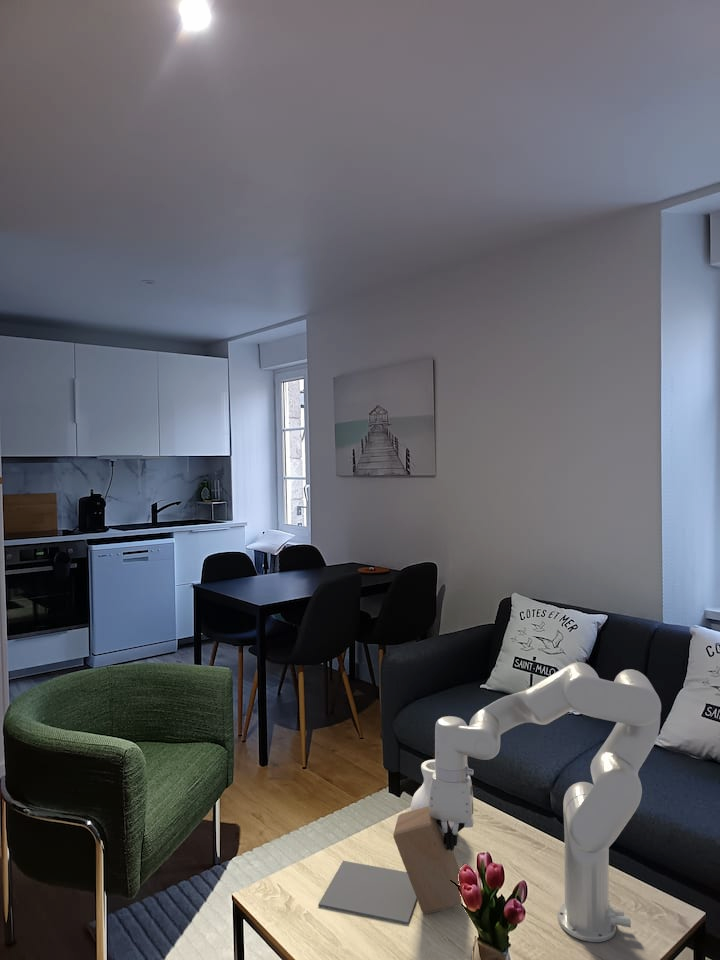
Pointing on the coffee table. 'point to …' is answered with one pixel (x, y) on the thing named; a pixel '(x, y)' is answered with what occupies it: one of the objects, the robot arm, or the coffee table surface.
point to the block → (427, 860)
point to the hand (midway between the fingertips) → (450, 847)
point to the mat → (371, 892)
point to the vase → (425, 788)
